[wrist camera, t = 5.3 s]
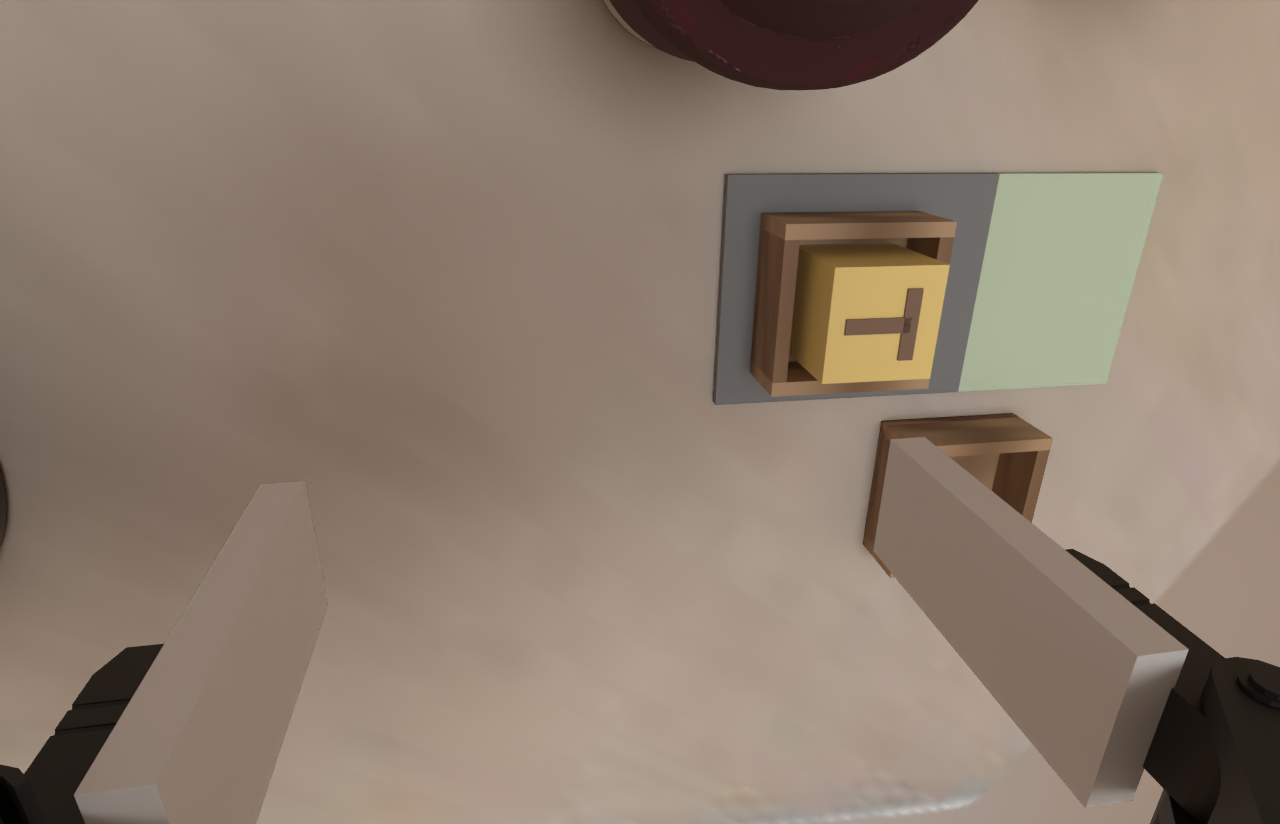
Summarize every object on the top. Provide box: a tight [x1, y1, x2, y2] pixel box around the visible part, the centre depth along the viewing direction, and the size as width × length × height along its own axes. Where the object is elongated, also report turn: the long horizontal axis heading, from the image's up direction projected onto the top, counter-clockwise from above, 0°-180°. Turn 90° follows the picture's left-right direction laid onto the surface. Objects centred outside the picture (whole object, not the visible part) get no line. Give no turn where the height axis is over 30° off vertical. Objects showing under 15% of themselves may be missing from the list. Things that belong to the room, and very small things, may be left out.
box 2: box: [863, 413, 1053, 578], centre depth 37 cm, size 7×7×3 cm
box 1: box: [750, 211, 957, 397], centre depth 31 cm, size 7×7×3 cm
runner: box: [713, 172, 1164, 405], centre depth 34 cm, size 20×10×1 cm, turn 89°
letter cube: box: [789, 243, 950, 384], centre depth 30 cm, size 4×4×5 cm
